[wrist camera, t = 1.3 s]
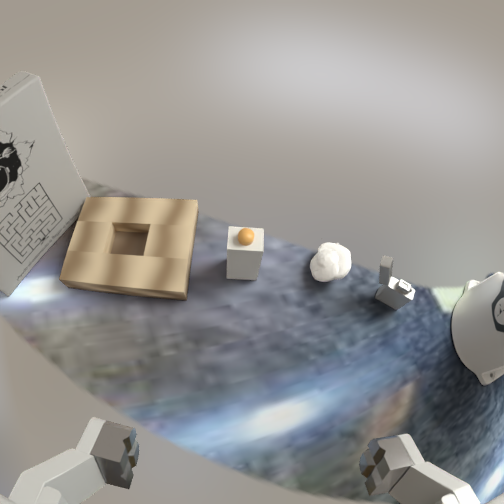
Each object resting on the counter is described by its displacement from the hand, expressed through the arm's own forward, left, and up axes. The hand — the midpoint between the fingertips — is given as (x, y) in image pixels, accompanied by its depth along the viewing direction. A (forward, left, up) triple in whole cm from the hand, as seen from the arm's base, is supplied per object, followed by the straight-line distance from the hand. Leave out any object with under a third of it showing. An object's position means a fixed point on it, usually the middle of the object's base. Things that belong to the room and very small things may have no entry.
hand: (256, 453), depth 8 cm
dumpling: (-12, -21, -27) cm, 36 cm away
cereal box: (+34, -23, -27) cm, 49 cm away
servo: (0, -20, -27) cm, 33 cm away
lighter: (-20, -17, -27) cm, 38 cm away
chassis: (+16, -22, -27) cm, 38 cm away
